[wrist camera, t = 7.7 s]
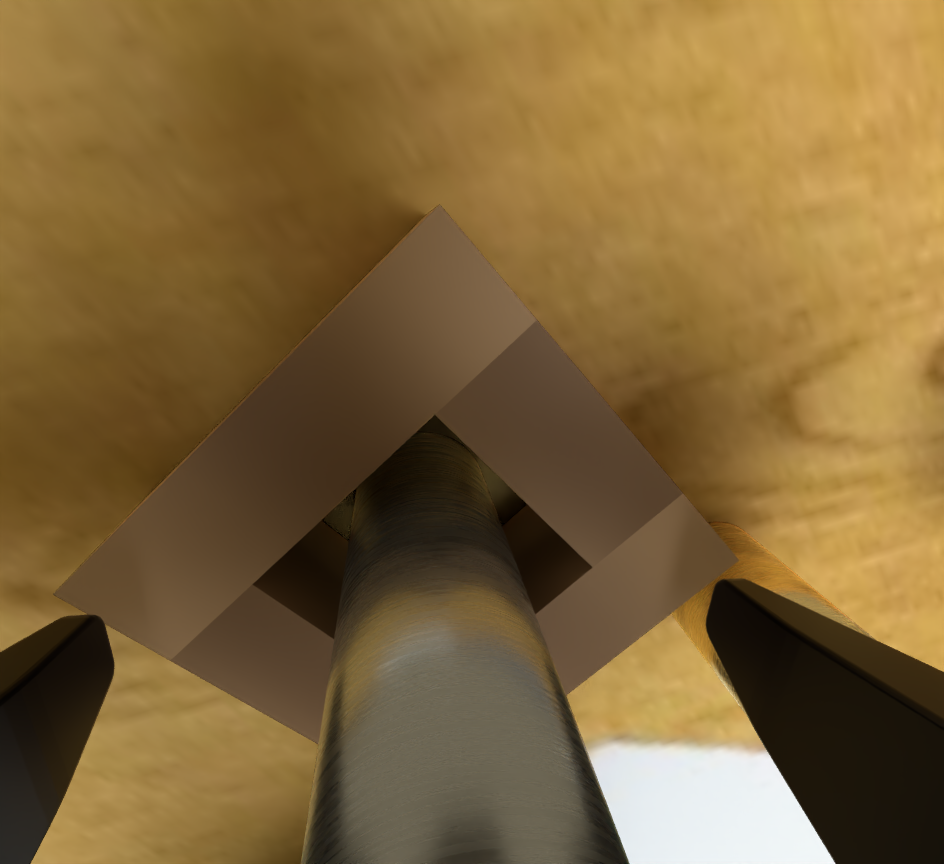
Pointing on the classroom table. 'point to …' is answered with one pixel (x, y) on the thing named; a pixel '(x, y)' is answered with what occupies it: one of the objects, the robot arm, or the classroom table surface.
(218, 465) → the collar
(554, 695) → the long pin
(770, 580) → the short pin
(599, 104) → the classroom table surface
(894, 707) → the robot arm
